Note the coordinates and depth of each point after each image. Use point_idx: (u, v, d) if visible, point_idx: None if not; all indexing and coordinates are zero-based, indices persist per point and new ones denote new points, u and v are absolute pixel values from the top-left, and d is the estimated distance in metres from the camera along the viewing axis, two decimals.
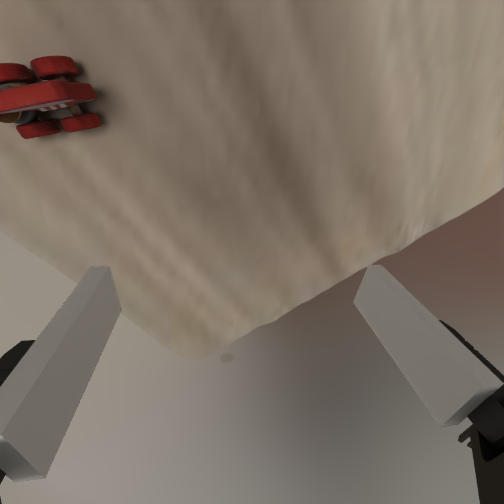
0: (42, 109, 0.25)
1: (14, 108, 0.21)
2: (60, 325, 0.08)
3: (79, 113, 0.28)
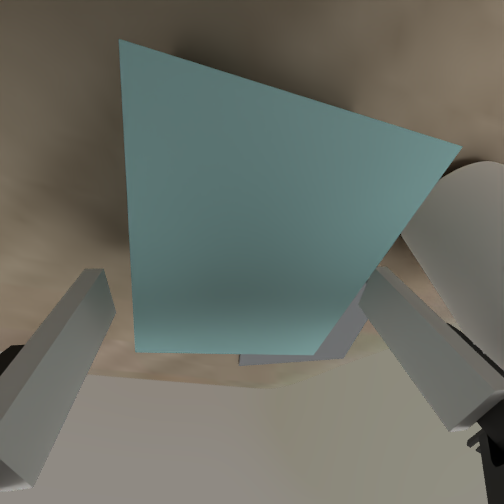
0: None
1: None
2: (50, 329, 0.08)
3: None
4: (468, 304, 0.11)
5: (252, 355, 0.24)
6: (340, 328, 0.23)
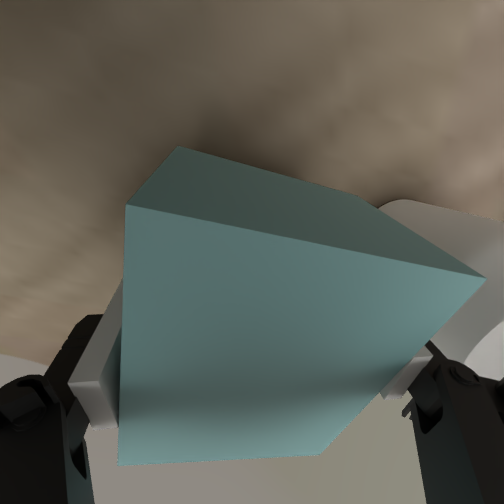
0: None
1: None
2: (122, 300, 0.09)
3: None
4: None
5: None
6: None
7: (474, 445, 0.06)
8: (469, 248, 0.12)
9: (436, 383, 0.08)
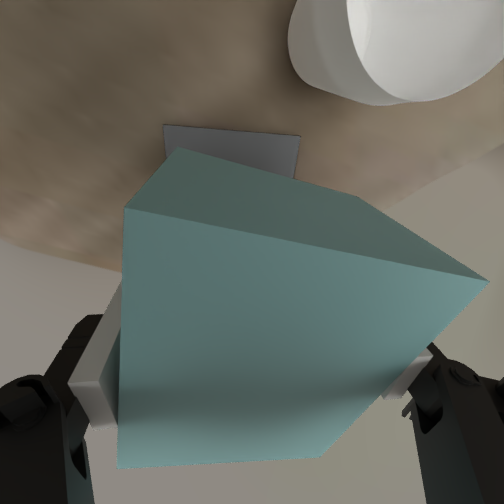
0: None
1: None
2: None
3: None
4: (302, 19, 0.13)
5: None
6: None
7: (474, 445, 0.06)
8: None
9: (436, 383, 0.08)
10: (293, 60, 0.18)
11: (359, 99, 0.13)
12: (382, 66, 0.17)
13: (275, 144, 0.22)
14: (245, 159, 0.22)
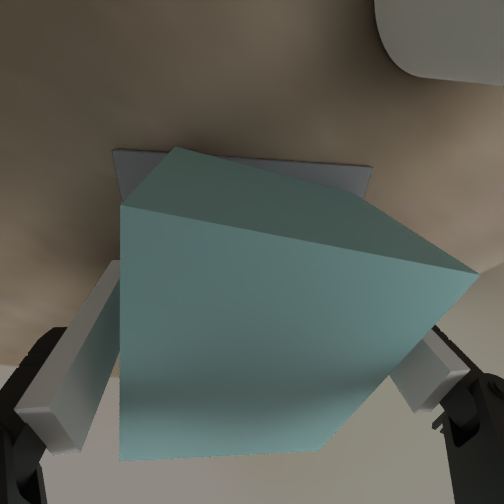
0: None
1: None
2: (89, 312, 0.08)
3: None
4: None
5: None
6: None
7: None
8: None
9: (473, 396, 0.08)
10: (391, 12, 0.08)
11: None
12: None
13: (326, 182, 0.12)
14: None
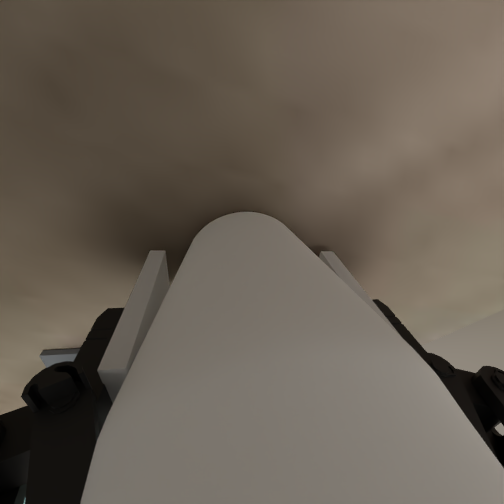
0: None
1: None
2: (141, 295, 0.09)
3: None
4: None
5: None
6: None
7: None
8: (153, 366, 0.05)
9: None
10: None
11: None
12: None
13: None
14: None
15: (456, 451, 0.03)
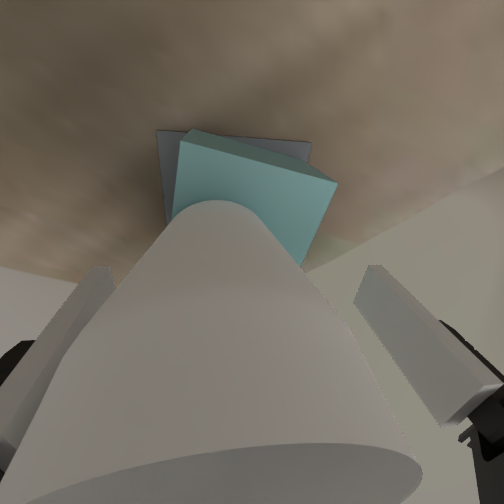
0: None
1: None
2: (60, 325, 0.08)
3: None
4: None
5: None
6: None
7: None
8: (99, 314, 0.06)
9: None
10: None
11: (191, 466, 0.09)
12: None
13: (283, 151, 0.19)
14: None
15: (315, 360, 0.04)
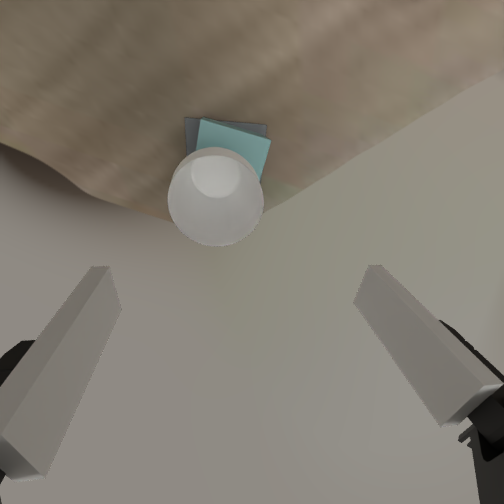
0: None
1: None
2: (60, 325, 0.08)
3: None
4: None
5: None
6: None
7: None
8: (184, 158, 0.22)
9: None
10: (194, 189, 0.31)
11: (206, 234, 0.26)
12: (242, 195, 0.30)
13: (251, 129, 0.36)
14: None
15: (235, 156, 0.21)
